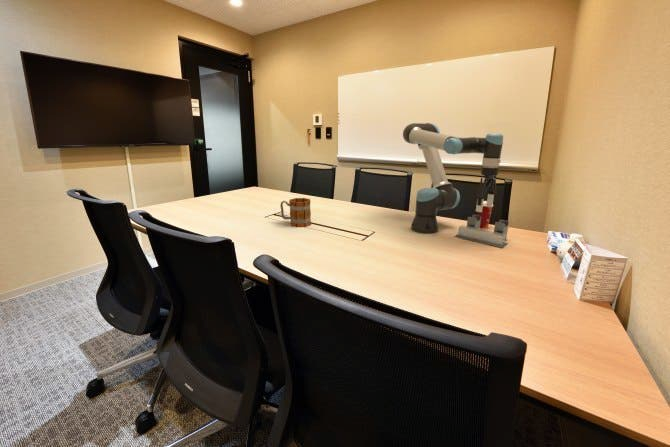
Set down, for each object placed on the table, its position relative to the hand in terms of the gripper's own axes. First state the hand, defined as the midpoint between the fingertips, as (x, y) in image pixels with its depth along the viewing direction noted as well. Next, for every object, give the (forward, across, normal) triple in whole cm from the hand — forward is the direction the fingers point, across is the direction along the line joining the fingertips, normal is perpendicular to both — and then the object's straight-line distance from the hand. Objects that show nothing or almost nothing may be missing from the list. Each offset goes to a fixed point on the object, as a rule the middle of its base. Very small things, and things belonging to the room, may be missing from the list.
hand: (484, 209), depth 157 cm
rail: (+16, 0, 0) cm, 16 cm away
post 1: (+17, +7, +7) cm, 20 cm away
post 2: (+17, +7, -7) cm, 20 cm away
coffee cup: (+17, +24, +8) cm, 31 cm away
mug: (+17, -49, +92) cm, 105 cm away
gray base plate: (+17, 0, 0) cm, 17 cm away
